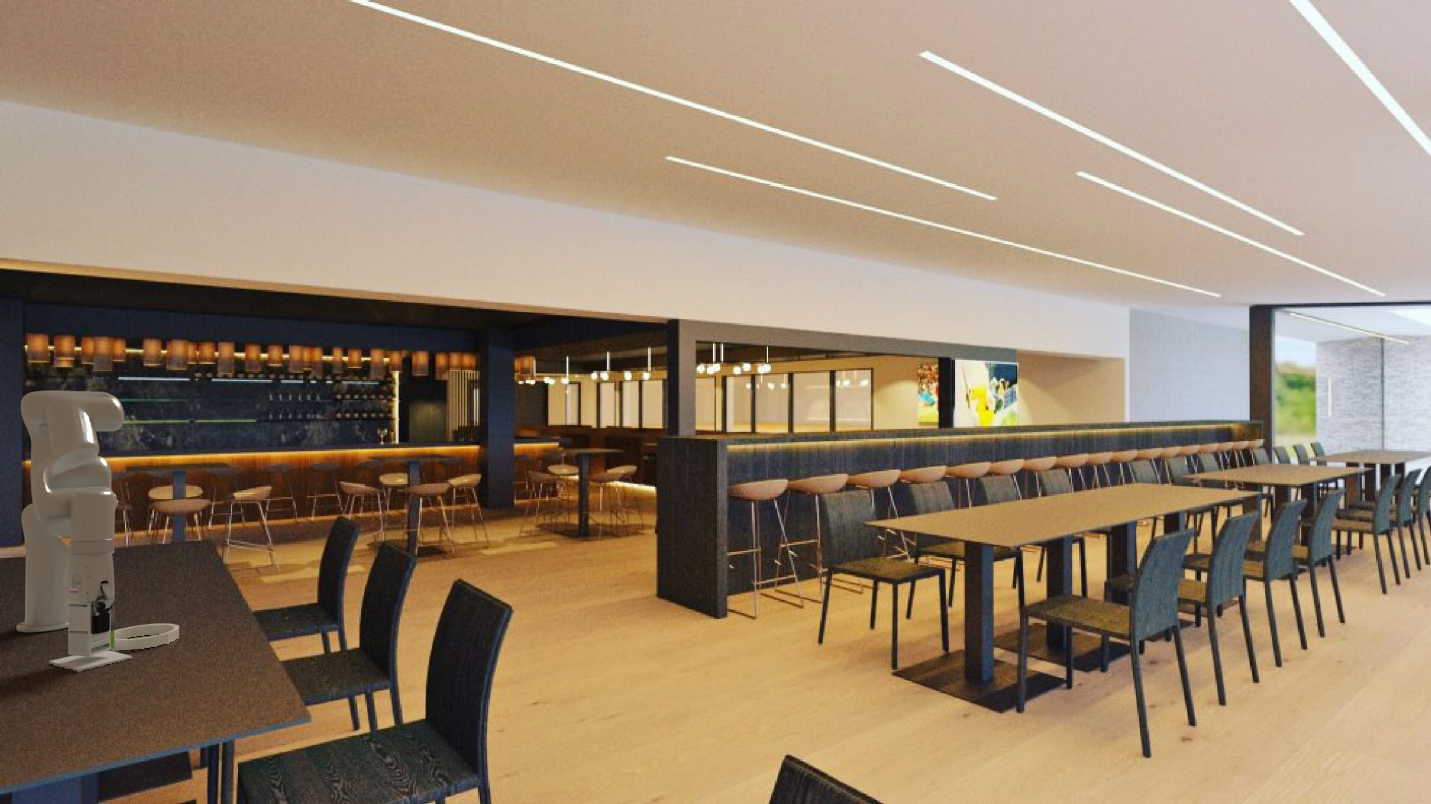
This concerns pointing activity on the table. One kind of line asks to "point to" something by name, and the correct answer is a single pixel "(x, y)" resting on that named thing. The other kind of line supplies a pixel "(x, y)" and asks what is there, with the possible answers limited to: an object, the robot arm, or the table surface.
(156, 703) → the table surface
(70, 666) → the mat
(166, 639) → the ring dish
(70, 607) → the syrup box
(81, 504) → the robot arm
